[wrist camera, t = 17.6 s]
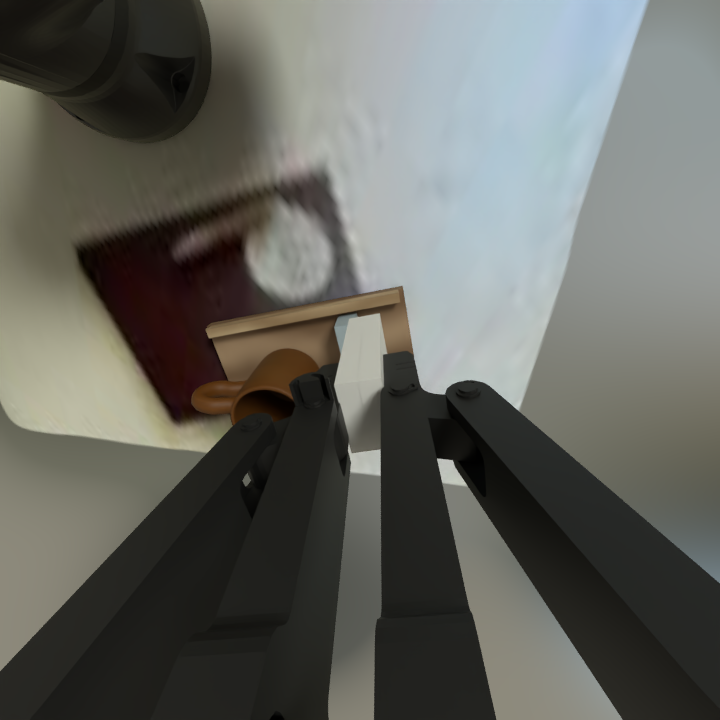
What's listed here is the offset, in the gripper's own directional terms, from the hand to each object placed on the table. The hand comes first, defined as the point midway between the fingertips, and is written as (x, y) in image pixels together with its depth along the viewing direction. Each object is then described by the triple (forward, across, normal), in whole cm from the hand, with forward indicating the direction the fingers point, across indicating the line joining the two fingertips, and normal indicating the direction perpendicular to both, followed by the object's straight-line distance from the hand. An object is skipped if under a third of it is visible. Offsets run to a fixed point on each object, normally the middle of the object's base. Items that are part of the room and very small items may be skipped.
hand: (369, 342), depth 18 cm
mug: (+21, -14, -10) cm, 27 cm away
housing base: (+22, -8, -11) cm, 26 cm away
